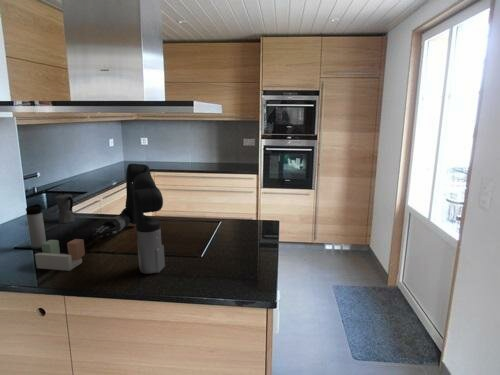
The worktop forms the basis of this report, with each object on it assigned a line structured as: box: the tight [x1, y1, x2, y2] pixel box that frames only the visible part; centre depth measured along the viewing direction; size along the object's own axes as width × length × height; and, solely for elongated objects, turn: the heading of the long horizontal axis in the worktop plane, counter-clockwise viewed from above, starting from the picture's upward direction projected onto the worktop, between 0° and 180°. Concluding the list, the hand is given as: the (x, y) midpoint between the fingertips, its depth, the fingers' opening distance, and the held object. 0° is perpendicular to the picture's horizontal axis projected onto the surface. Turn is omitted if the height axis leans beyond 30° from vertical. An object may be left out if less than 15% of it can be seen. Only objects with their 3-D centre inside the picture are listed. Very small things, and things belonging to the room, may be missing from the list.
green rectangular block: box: [41, 239, 61, 254], centre depth 144 cm, size 4×5×7 cm
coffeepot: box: [54, 191, 76, 224], centre depth 199 cm, size 15×9×18 cm, turn 55°
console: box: [34, 252, 83, 272], centre depth 142 cm, size 15×8×6 cm, turn 80°
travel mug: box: [25, 203, 47, 250], centre depth 161 cm, size 6×7×20 cm
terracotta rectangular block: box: [66, 238, 86, 259], centre depth 145 cm, size 4×5×7 cm
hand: (93, 237), depth 157 cm, fingers closed
